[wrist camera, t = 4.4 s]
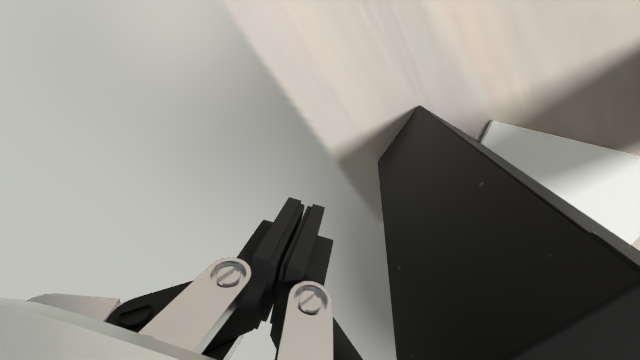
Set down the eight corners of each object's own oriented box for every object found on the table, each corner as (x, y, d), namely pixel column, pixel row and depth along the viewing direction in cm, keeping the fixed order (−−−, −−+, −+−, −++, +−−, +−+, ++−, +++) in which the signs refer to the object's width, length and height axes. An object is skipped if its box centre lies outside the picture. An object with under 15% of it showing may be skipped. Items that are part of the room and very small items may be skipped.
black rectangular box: (479, 141, 27) (1740, 987, 2) (431, 195, 31) (711, 769, 6) (418, 103, 27) (1133, 631, 2) (376, 162, 30) (413, 628, 5)
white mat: (695, 169, 25) (701, 171, 24) (598, 271, 31) (602, 274, 31) (491, 119, 26) (493, 120, 26) (436, 226, 32) (437, 229, 32)
